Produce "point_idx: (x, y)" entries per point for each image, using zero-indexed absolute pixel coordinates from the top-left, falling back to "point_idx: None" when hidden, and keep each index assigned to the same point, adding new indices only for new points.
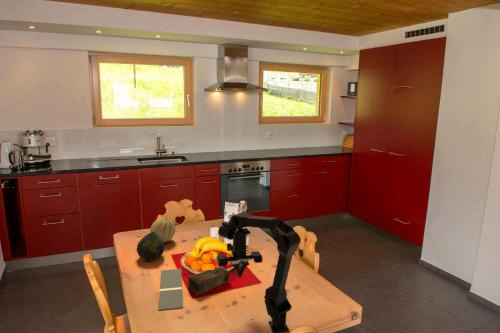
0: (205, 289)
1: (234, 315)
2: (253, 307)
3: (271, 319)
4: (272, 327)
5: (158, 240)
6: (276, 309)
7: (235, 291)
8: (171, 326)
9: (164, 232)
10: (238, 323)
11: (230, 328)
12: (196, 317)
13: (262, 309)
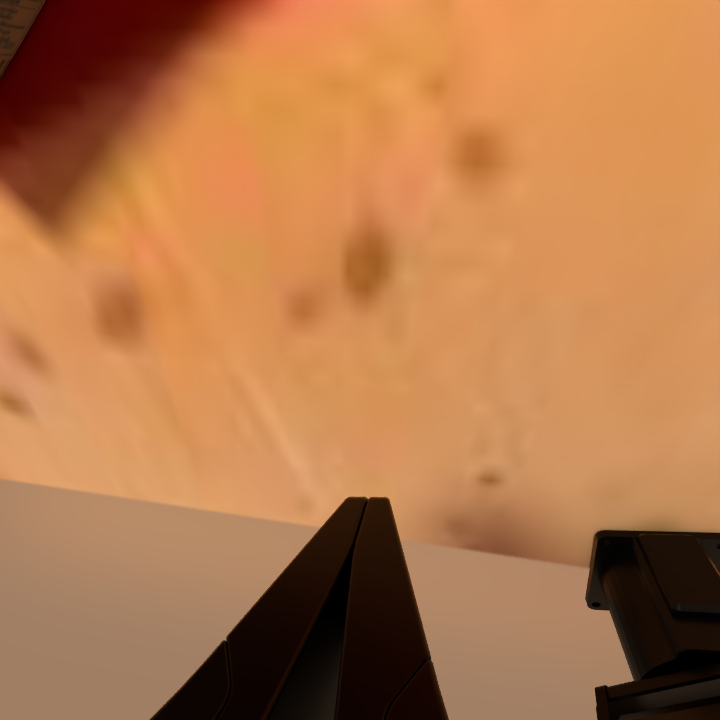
0: (1, 33)
1: (360, 430)
2: (539, 355)
3: (617, 612)
4: (601, 586)
5: None
6: (700, 693)
7: (391, 9)
8: (6, 467)
9: None
10: None
11: None
12: (106, 417)
13: (615, 390)
